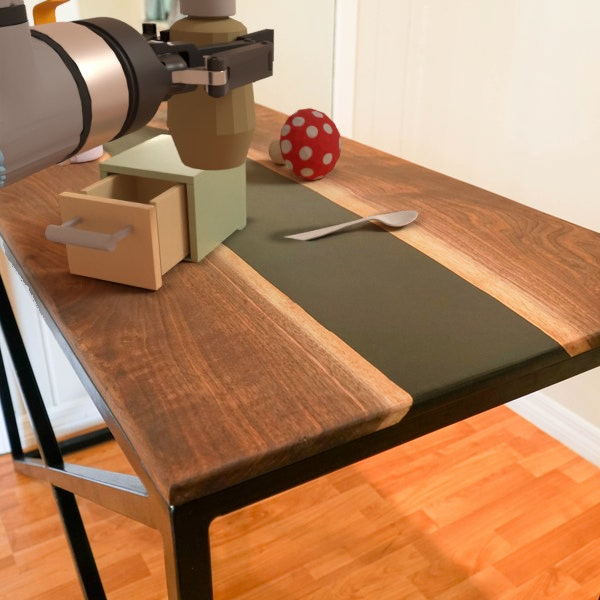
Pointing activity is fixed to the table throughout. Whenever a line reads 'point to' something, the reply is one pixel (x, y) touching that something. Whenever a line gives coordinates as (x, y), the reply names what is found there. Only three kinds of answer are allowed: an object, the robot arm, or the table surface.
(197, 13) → the squeeze bottle
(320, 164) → the decorative mushroom
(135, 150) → the cabinet
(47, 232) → the drawer
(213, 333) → the table surface
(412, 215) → the spoon
